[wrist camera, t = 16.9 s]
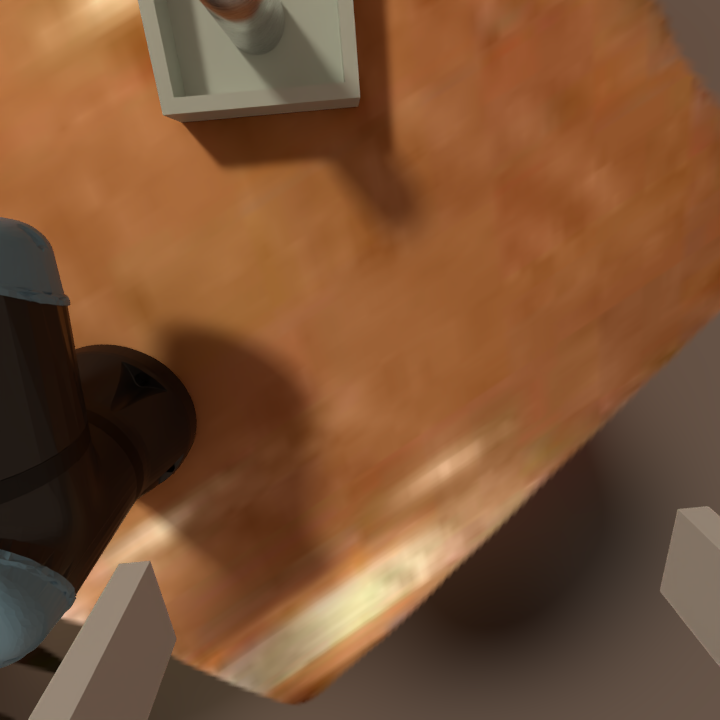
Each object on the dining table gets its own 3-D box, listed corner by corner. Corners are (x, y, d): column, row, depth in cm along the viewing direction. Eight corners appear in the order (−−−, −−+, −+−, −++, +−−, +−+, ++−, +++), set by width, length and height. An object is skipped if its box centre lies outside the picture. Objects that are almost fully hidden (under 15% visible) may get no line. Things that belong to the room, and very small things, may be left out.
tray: (181, 122, 35) (163, 115, 32) (141, -73, 31) (114, -108, 27) (358, 106, 35) (360, 97, 32) (343, -90, 31) (343, -128, 27)
